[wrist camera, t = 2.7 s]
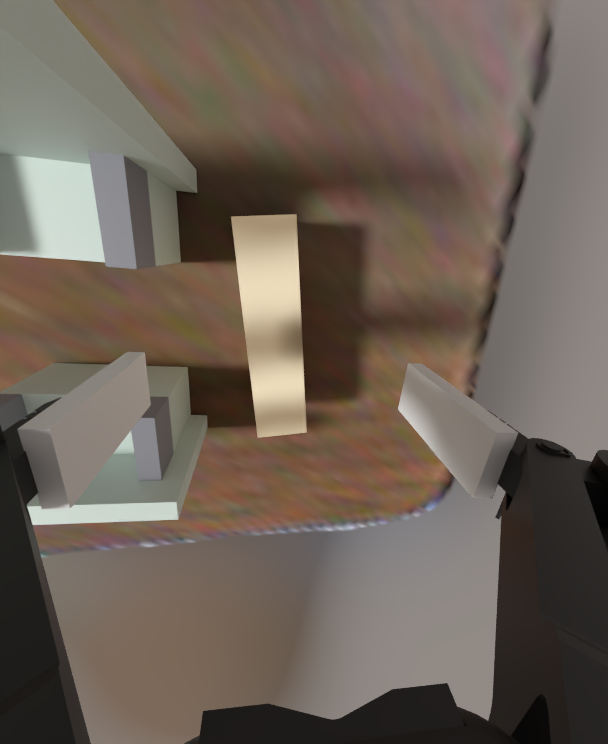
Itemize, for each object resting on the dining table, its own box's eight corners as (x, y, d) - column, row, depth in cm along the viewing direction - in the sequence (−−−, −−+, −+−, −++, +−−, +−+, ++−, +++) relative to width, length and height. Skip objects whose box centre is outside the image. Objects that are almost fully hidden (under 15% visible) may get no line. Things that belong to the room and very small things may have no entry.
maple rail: (238, 224, 24) (230, 216, 18) (289, 222, 24) (296, 214, 19) (259, 402, 30) (257, 437, 24) (298, 399, 30) (306, 432, 25)
